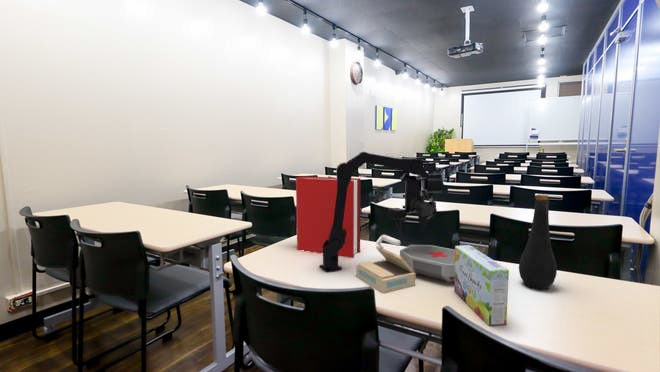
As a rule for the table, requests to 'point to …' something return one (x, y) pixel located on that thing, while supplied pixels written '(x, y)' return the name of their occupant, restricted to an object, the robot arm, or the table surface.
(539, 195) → the bottle
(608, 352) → the table surface
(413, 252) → the first aid kit
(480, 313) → the snack box
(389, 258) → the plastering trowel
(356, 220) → the book
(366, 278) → the carton
